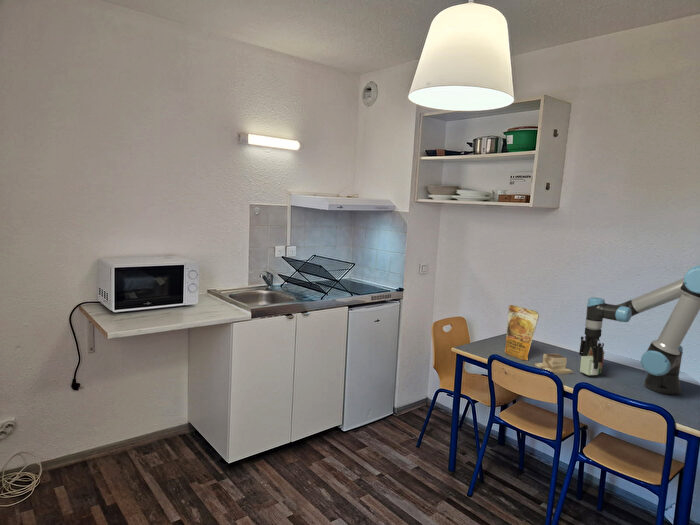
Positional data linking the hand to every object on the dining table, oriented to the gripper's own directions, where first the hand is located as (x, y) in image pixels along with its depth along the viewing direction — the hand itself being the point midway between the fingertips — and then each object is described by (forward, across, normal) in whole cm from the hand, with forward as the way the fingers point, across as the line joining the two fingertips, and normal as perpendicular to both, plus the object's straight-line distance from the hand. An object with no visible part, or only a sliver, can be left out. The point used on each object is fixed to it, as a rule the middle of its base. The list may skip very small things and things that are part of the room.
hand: (588, 372), depth 245 cm
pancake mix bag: (+1, +33, +20) cm, 38 cm away
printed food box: (+2, +12, -12) cm, 18 cm away
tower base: (+2, +10, +13) cm, 17 cm away
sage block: (0, 0, 0) cm, 0 cm away
